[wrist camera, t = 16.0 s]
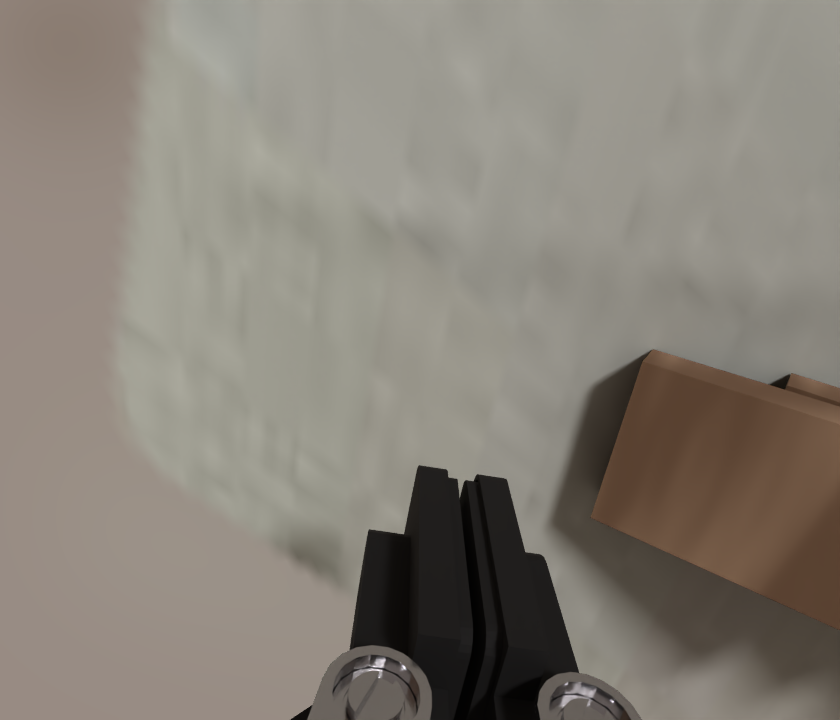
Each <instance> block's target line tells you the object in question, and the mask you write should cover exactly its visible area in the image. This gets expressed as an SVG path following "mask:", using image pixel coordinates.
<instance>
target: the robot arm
mask: <svg viewBox="0 0 840 720" xmlns="http://www.w3.org/2000/svg"><path fill="white" fill-rule="evenodd" d="M291 720H642V719H641V717H640V716H639V714H638V713H637V711H636V710H635V708H634V707H633V706H632V704H631V703H630V702H629V701H628V700H627V699H626V698H625V697H624V696H623V695H622V694H621V693H620V692H619V691H618V690H616V689H615V688H613V687H612V686H610V685H608V684H607V683H605V682H604V681H602V680H600V679H597V678H595V677H592V676H590V675H587V674H582V673H579V671H578V667H577V664H576V661H575V657H574V654H573V651H572V647H571V644H570V640H569V637H568V634H567V630H566V627H565V624H564V620H563V617H562V614H561V610H560V607H559V603H558V600H557V597H556V593H555V590H554V587H553V583H552V580H551V577H550V573H549V570H548V566H547V563H546V561H545V559H544V557H543V556H542V555H540V554H533V553H526V552H525V549H524V545H523V541H522V538H521V534H520V530H519V526H518V522H517V518H516V514H515V510H514V506H513V502H512V498H511V494H510V490H509V486H508V482H507V480H506V479H504V478H498V477H491V476H485V475H478V474H477V475H476V477H475V479H474V481H467V480H465V482H464V484H463V488H462V492H461V496H460V498H459V489H458V480H457V479H454V478H448V471H447V470H446V469H439V468H433V467H426V466H420V465H419V466H418V469H417V473H416V477H415V482H414V487H413V492H412V497H411V502H410V507H409V512H408V517H407V522H406V527H405V532H404V534H397V533H390V532H383V531H376V530H370V529H369V531H368V536H367V541H366V547H365V553H364V559H363V565H362V570H361V577H360V583H359V589H358V596H357V602H356V609H355V616H354V623H353V630H352V637H351V644H350V650H349V651H347V652H345V653H343V654H341V655H340V656H339V657H338V658H337V659H336V660H334V661H333V662H332V663H331V664H330V666H329V667H328V669H327V671H326V673H325V674H324V676H323V678H322V681H321V684H320V686H319V689H318V692H317V694H316V697H315V700H314V703H313V705H312V706H310V707H309V708H307V709H306V710H304V711H303V712H301V713H300V714H298V715H297V716H295V717H294V718H292V719H291Z"/></svg>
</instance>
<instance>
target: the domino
mask: <svg viewBox="0 0 840 720" xmlns="http://www.w3.org/2000/svg"><path fill="white" fill-rule="evenodd" d="M590 518H592V519H594V520H597V521H599V522H601V523H603V524H606V525H608V526H610V527H612V528H614V529H617V530H619V531H621V532H623V533H625V534H628V535H630V536H632V537H634V538H637V539H639V540H641V541H643V542H645V543H648V544H650V545H652V546H654V547H657V548H659V549H661V550H663V551H665V552H668V553H670V554H672V555H674V556H676V557H679V558H681V559H683V560H685V561H688V562H690V563H692V564H694V565H696V566H699V567H701V568H703V569H705V570H707V571H710V572H712V573H714V574H716V575H719V576H721V577H723V578H725V579H727V580H730V581H732V582H734V583H736V584H738V585H741V586H743V587H745V588H747V589H750V590H752V591H754V592H756V593H758V594H761V595H763V596H765V597H767V598H769V599H772V600H774V601H776V602H778V603H781V604H783V605H785V606H787V607H789V608H792V609H794V610H796V611H798V612H800V613H803V614H805V615H807V616H809V617H812V618H814V619H816V620H818V621H820V622H823V623H825V624H827V625H829V626H831V627H834V628H836V629H838V630H840V407H839V406H836V405H833V404H830V403H826V402H823V401H820V400H817V399H813V398H810V397H807V396H804V395H800V394H797V393H794V392H791V391H787V390H784V389H781V388H777V387H774V386H771V385H768V384H764V383H761V382H758V381H755V380H751V379H748V378H745V377H742V376H738V375H735V374H732V373H729V372H725V371H722V370H719V369H716V368H712V367H709V366H706V365H703V364H699V363H696V362H693V361H689V360H686V359H683V358H680V357H676V356H673V355H670V354H667V353H663V352H660V351H657V350H654V349H653V350H652V351H651V352H650V353H649V354H648V356H647V357H646V358H645V359H644V360H643V361H642V364H641V367H640V370H639V373H638V376H637V379H636V382H635V385H634V388H633V391H632V394H631V397H630V400H629V403H628V406H627V409H626V412H625V415H624V418H623V421H622V424H621V427H620V430H619V433H618V436H617V439H616V442H615V445H614V448H613V451H612V454H611V457H610V460H609V463H608V466H607V469H606V472H605V475H604V478H603V481H602V484H601V487H600V490H599V493H598V496H597V499H596V502H595V505H594V508H593V511H592V514H591V517H590Z"/></svg>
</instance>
